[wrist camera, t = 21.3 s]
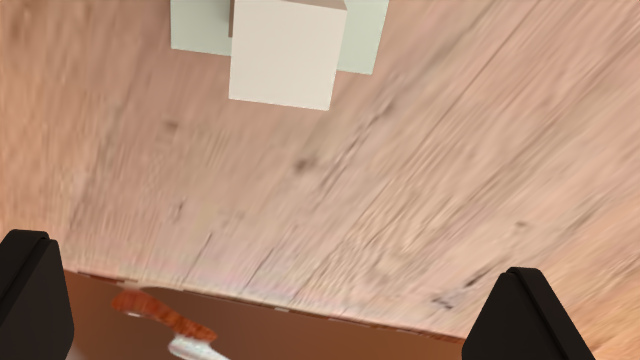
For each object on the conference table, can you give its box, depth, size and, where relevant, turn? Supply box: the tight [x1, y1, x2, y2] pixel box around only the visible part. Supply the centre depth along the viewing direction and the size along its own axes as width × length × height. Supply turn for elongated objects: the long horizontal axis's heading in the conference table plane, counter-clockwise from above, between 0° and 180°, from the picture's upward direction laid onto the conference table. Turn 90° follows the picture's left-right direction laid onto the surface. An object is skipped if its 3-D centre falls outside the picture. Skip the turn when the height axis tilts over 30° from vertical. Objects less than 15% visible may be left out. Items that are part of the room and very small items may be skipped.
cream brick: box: [229, 0, 348, 111], centre depth 25 cm, size 5×5×6 cm
